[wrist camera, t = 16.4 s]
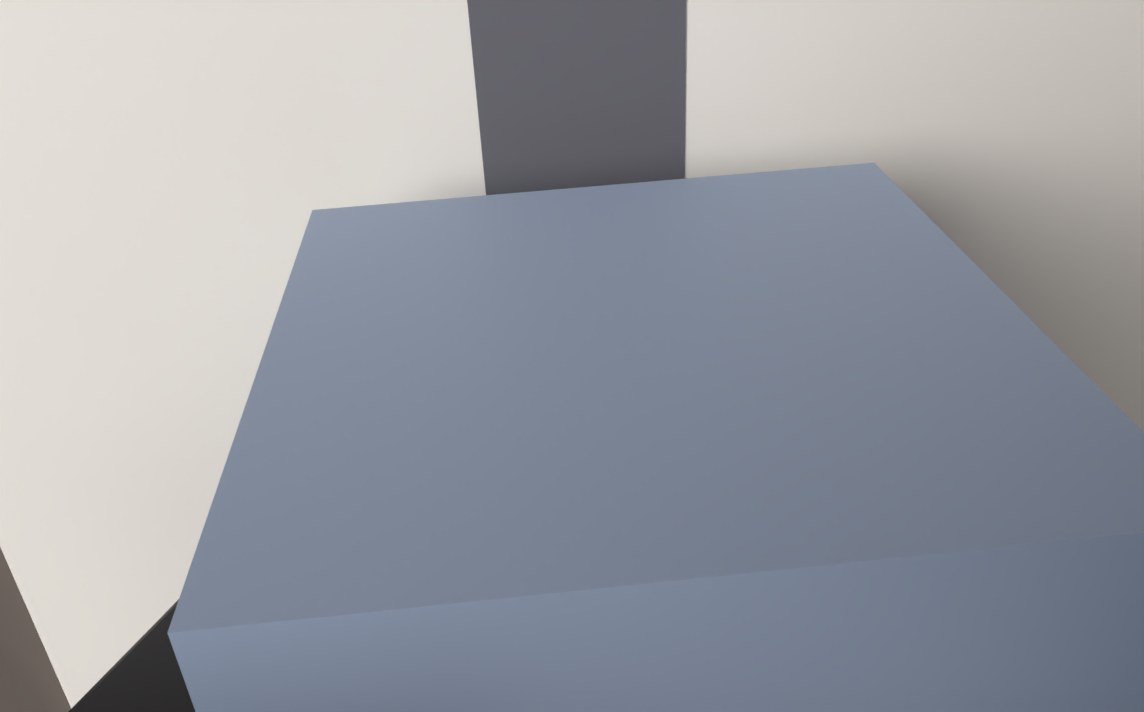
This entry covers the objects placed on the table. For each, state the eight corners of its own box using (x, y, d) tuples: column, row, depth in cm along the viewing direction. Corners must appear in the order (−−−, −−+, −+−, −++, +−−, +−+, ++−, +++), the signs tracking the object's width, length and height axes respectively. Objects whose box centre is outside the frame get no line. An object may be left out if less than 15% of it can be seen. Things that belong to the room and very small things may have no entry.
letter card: (1397, -461, 8) (1440, -471, 8) (1062, 700, 16) (1076, 722, 15) (-369, -379, 8) (-410, -386, 7) (130, 800, 15) (122, 825, 14)
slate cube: (874, 163, 9) (1233, 522, 5) (831, 579, 12) (1043, 1056, 7) (311, 209, 9) (168, 632, 5) (393, 623, 11) (351, 1144, 7)
